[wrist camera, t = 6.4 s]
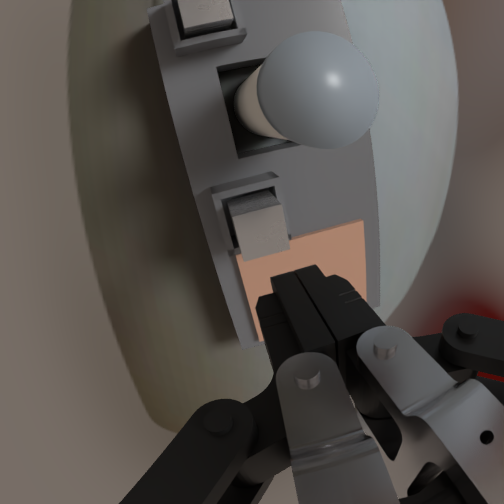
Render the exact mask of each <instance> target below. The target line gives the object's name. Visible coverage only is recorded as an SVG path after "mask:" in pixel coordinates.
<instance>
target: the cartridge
mask: <svg viewBox="0 0 504 504" xmlns="http://www.w3.org/2000/svg"><path fill="white" fill-rule="evenodd" d="M233 105H234V112H235V115H236V117H237V119H238V121H239V122H240V124H241V125H242V126H243V127H244V128H245V129H247V130H248V131H250V132H252V133H254V134H256V135H260V136H266V137H273V138H279V139H285V140H290V141H292V142H295V143H297V144H301V145H305V146H309V147H314V148H320V149H335V148H340V147H344V146H347V145H349V144H351V143H353V142H355V141H356V140H358V139H359V138H360V137H362V136H363V135H364V134H365V133H366V132H367V130H368V129H369V128H370V126H371V125H372V123H373V121H374V119H375V117H376V114H377V110H378V106H379V87H378V82H377V78H376V75H375V72H374V70H373V68H372V66H371V64H370V62H369V61H368V60H367V58H366V57H365V55H364V54H363V53H362V52H361V51H360V50H359V49H358V48H357V47H356V46H355V45H353V44H352V43H350V42H349V41H347V40H346V39H344V38H342V37H340V36H337V35H335V34H331V33H328V32H321V31H309V32H303V33H299V34H296V35H294V36H291V37H289V38H288V39H286V40H285V41H283V42H282V43H281V44H280V45H278V46H277V47H276V48H275V49H274V50H273V51H272V52H271V53H270V54H269V55H268V56H267V58H266V59H265V60H264V62H263V64H262V65H261V66H260V67H258V68H257V69H256V70H255V71H254V72H253V73H252V74H251V75H250V76H249V77H248V78H247V79H246V80H245V81H244V82H243V83H242V84H241V85H240V86H239V88H238V89H237V91H236V93H235V97H234V103H233Z"/></svg>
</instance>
